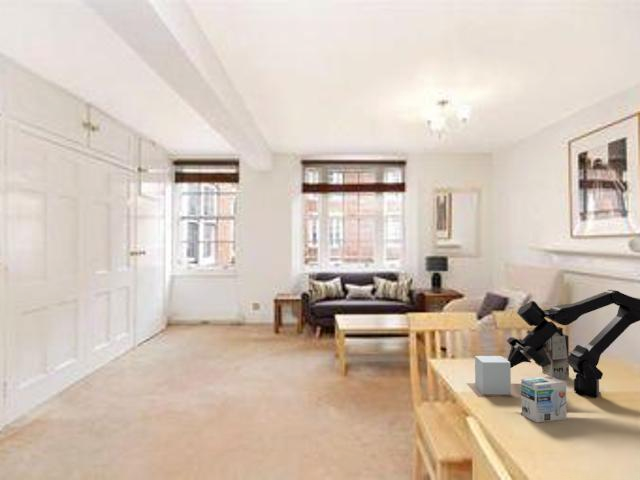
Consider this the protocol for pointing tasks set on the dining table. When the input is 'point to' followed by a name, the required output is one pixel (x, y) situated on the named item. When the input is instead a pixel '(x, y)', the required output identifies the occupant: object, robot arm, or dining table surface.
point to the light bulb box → (543, 399)
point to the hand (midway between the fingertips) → (506, 368)
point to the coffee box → (557, 357)
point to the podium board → (514, 394)
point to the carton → (493, 375)
